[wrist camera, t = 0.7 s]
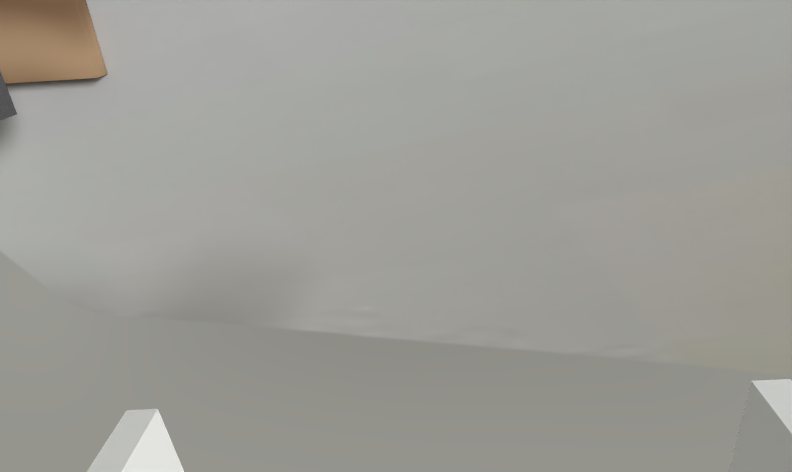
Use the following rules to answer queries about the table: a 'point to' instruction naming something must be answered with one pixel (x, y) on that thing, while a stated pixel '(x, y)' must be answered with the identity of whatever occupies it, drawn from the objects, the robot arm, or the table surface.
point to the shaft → (5, 101)
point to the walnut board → (48, 41)
